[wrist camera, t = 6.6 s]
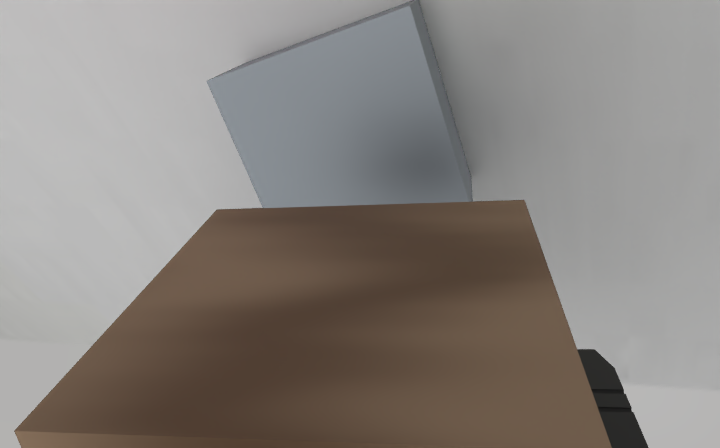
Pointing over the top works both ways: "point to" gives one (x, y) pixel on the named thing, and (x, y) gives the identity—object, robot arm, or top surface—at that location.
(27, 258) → the top surface
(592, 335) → the top surface
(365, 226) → the walnut block
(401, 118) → the slate base block
